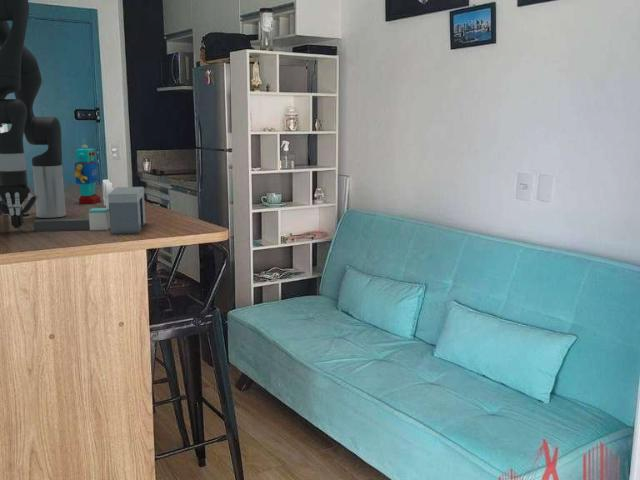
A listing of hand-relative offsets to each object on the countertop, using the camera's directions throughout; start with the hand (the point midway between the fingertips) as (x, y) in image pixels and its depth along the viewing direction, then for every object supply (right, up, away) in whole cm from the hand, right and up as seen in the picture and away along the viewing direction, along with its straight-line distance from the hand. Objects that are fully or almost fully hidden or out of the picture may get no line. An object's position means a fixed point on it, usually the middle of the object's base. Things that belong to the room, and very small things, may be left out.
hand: (17, 227), depth 189 cm
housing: (+32, 0, +5) cm, 32 cm away
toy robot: (-1, +11, +63) cm, 64 cm away
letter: (+11, +8, +48) cm, 50 cm away
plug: (+15, -1, +3) cm, 15 cm away
